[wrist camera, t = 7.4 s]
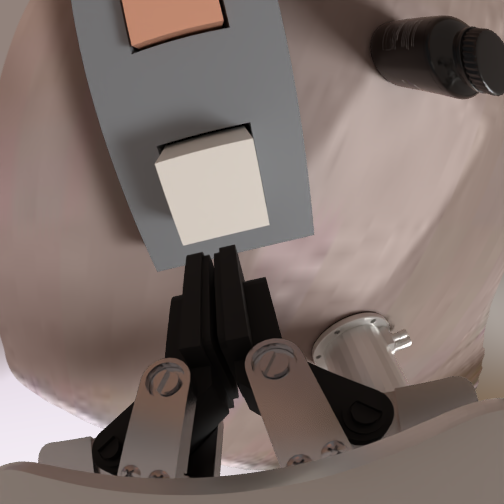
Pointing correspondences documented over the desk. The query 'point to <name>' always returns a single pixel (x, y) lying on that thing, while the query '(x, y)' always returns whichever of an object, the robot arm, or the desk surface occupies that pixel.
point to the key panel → (198, 115)
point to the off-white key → (213, 185)
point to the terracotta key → (169, 20)
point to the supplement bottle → (440, 56)
